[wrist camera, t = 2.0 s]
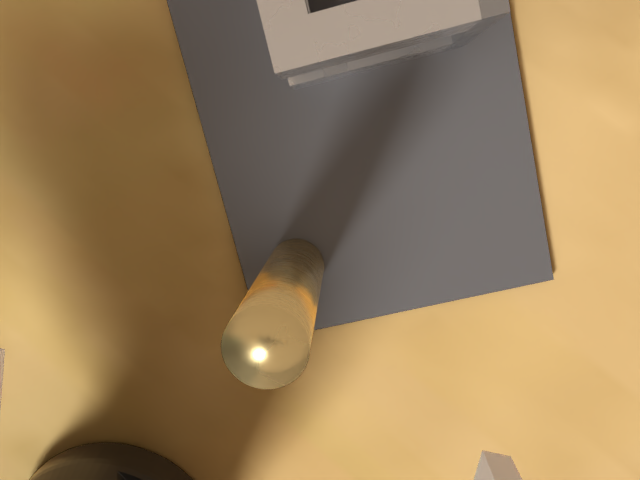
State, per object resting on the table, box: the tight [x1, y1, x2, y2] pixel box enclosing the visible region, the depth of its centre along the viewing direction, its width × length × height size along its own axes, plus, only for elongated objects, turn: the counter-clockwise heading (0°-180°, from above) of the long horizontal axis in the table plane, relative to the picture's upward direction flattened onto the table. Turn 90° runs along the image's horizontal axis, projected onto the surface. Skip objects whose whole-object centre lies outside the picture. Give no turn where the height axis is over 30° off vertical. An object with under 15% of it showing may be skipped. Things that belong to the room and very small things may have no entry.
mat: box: [167, 0, 554, 330], centre depth 31 cm, size 19×25×1 cm
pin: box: [221, 238, 324, 389], centre depth 27 cm, size 4×4×13 cm
